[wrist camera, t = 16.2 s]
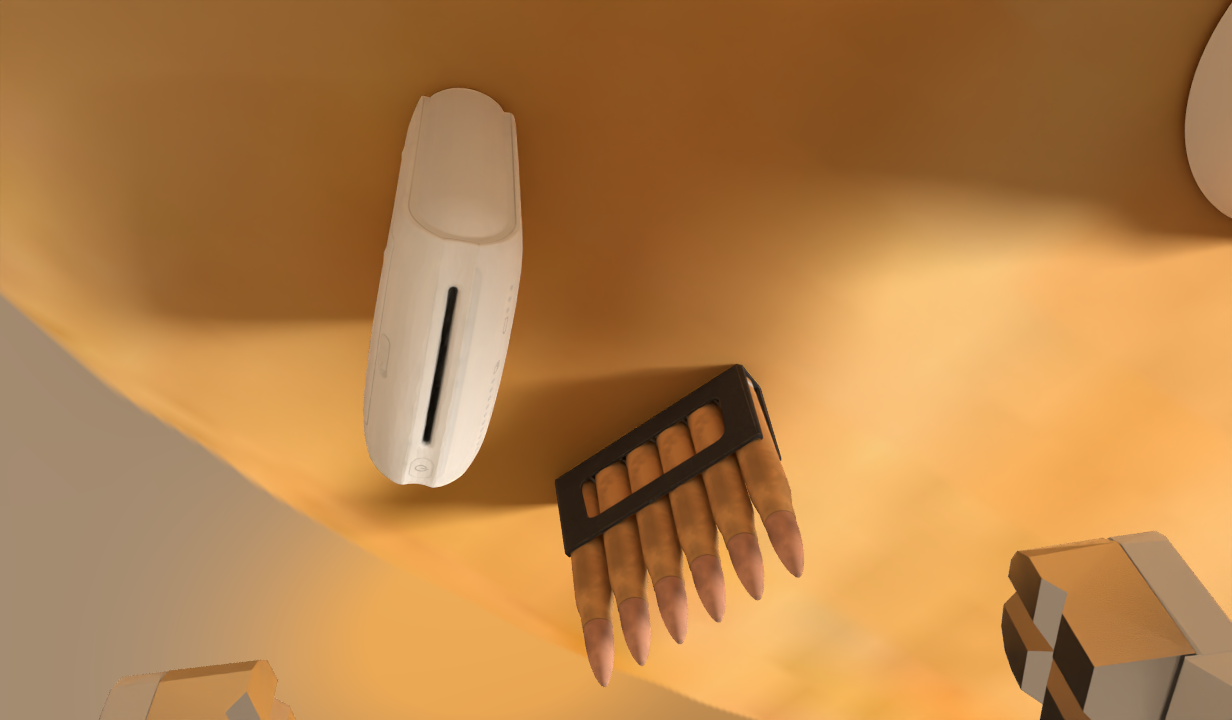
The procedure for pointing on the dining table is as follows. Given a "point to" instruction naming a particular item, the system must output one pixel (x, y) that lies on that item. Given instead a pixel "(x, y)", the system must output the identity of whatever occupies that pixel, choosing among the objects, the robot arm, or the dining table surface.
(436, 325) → the photo printer
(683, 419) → the ammunition clip
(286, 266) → the dining table surface
